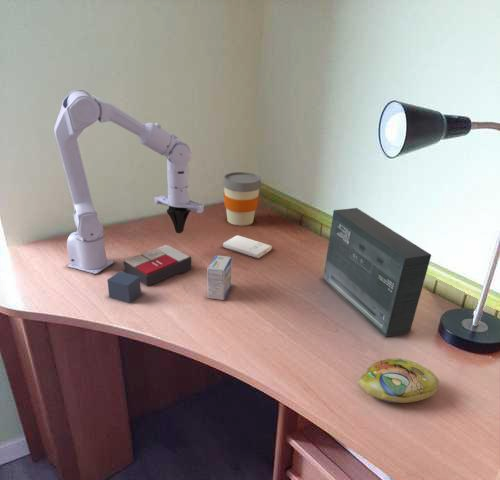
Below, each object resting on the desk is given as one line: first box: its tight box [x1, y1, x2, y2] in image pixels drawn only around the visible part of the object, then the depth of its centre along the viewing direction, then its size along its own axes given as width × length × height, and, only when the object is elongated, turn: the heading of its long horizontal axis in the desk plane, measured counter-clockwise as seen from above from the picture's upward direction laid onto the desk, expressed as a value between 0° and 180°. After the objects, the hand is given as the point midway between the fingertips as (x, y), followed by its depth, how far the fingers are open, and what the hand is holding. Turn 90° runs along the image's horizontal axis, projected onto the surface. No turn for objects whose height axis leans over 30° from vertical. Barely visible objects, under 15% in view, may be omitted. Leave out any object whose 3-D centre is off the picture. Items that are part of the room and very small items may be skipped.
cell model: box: [357, 357, 440, 404], centre depth 96 cm, size 11×8×15 cm
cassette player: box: [322, 207, 432, 338], centre depth 120 cm, size 29×7×20 cm, turn 22°
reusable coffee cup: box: [222, 171, 262, 227], centre depth 165 cm, size 13×13×15 cm
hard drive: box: [222, 234, 273, 259], centre depth 150 cm, size 2×8×12 cm
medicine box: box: [206, 254, 233, 301], centre depth 124 cm, size 8×4×9 cm, turn 168°
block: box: [106, 270, 142, 304], centre depth 121 cm, size 6×5×5 cm
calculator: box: [122, 244, 193, 287], centre depth 134 cm, size 11×4×15 cm
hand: (179, 231), depth 141 cm, fingers closed
